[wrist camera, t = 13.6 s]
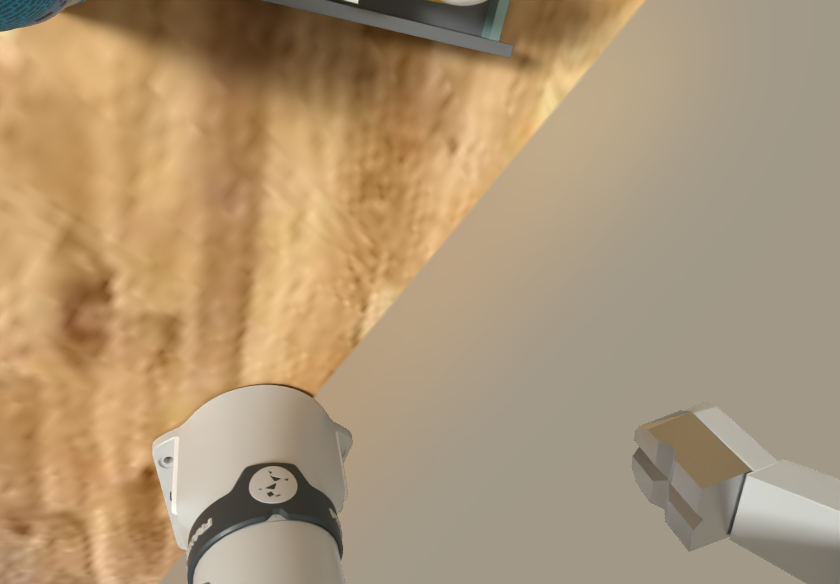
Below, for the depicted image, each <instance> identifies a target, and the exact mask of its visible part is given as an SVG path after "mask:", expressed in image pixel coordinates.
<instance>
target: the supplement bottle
mask: <svg viewBox="0 0 840 584" xmlns="http://www.w3.org/2000/svg"><path fill="white" fill-rule="evenodd" d="M428 1H433V2H439V3H445V4H451V5H457V6H469V5H475V4H479V3H483V2H485V1H487V0H428Z"/></svg>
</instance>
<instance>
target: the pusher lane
mask: <svg viewBox="0 0 840 584" xmlns="http://www.w3.org/2000/svg"><path fill="white" fill-rule="evenodd" d="M263 1H267V2H271V3H276V4H280V5H284V6H289V7H293V8H297V9H301V10H306V11H310V12H314V13H319V14H323V15H327V16H332V17H336V18H340V19H344V20H349V21H353V22H357V23H362V24H366V25H370V26H374V27H379V28H383V29H387V30H392V31H396V32H400V33H405V34H409V35H413V36H417V37H422V38H426V39H430V40H435V41H439V42H443V43H447V44H452V45H456V46H460V47H465V48H469V49H473V50H478V51H482V52H486V53H490V54H495V55H499V56H503V57H508V58H511V54H512V50H513V47H514V46H512V45H509V44H506V43H503V42H500V41H499V39H500V35H501V32H502V28H503V24H504V20H505V17H506V13H507V9H508V6H509V2H510V0H487V1H485V2H483V3H479V4H475V5H469V6H457V5H451V4H445V3H439V2H433V1H428V0H358V4H357V3H353V2H349V1H345V0H263Z"/></svg>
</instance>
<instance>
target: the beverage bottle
mask: <svg viewBox="0 0 840 584" xmlns="http://www.w3.org/2000/svg"><path fill="white" fill-rule="evenodd" d="M84 1H86V0H0V32H2V31H8V30H12V29H16V28H22V27H27V26H32V25H35V24H38V23H41V22H44V21H46V20H48V19H50V18H52V17H54V16H55V15H57V14H58V13H60V12H61V11H62V10H63V9H65V8H66V7H70V6H73V5H77V4H79V3H82V2H84Z"/></svg>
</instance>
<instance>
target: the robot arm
mask: <svg viewBox="0 0 840 584" xmlns="http://www.w3.org/2000/svg"><path fill="white" fill-rule="evenodd" d="M634 441H635V442H636V443H637V444H638V446H639V448H638V449H637V451H636V452H635V453H634V454H633V457H632V470H633V473H634V476H635V479H636V482H637V484H638V485H639V487H640V489H641V491H642V492H643V493H644V495H645V496H646V498H647V499H648V500H649V502H650V503H652V504H654V505H657V506H659V507H661V508H663V509H665V522H666V523H667V525H668V526H669V527H670V528H671V529H672V531H673V532H674V533H675V535H676V536H677V537H678V538H679V540H680V541H681V542H682V543H683V545H684V546H685V547H686V548H687V550H688V551H692V550H695V549H698V548H700V547H703V546H706V545H708V544H711V543H713V542H716V541H719V540H722V539H724V538H727V537H730V540H732V541H733V542H735V543H737V544H738V545H740V546H742V547H744V548H746V549H747V550H749V551H751V552H752V553H754V554H756V555H758V556H759V557H761V558H763V559H765V560H766V561H768V562H770V563H772V564H773V565H775V566H777V567H779V568H780V569H782V570H784V571H786V572H787V573H789V574H791V575H793V576H794V577H796V578H798V579H800V580H802V581H803V582H805V583H807V584H840V479H837V478H834V477H831V476H829V475H826V474H824V473H821V472H818V471H816V470H813V469H810V468H807V467H805V466H802V465H799V464H796V463H794V462H791V461H788V460H786V459H784V460H781V461H777V460H776V459H775V458H774V457H773V456H771V455H770V454H769V453H768V452H767V451H766V450H765V449H764V448H763V447H761V446H760V445H759V444H758V443H757V442H756V441H755V440H754V439H752V438H751V437H750V436H749V435H748V434H747V433H746V432H745V431H744V430H743V429H741V428H740V427H739V426H738V425H737V424H736V423H735V422H734V421H732V420H731V419H730V418H729V417H728V416H727V415H726V414H725V413H724V412H723V411H721V410H720V409H719V408H718V407H717V406H715V405H714V404H712V403H710V402H705V403H702V404H699V405H697V406H694V407H691V408H689V409H686V410H683V411H682V410H681V411H678V412H675V413H673V414H670V415H668V416H665V417H662V418H660V419H657V420H655V421H652V422H649V423H646V424H644V425H641V426H639V427H638V428H637V429H636V431H635V437H634ZM351 446H352V435H351V433H350V432H349V431H348V430H347V429H346V428H344V427H342V426H340V425H339V424H337V423H335V422H333V421H332V420H331V419H330V418H329V416H328V415H327V413H326V412H325V410H324V409H323V407H322V406H321V405H320V404H319V403H318V402H317V401H316V400H314V399H313V398H312V397H310V396H309V395H307V394H305V393H303V392H301V391H298V390H295V389H292V388H289V387H284V386H277V385H255V386H248V387H243V388H239V389H235V390H232V391H229V392H226V393H224V394H222V395H219V396H217V397H215V398H213V399H212V400H210V401H209V402H207V403H206V404H204V405H203V406H202V407H200V408H199V409H198V410H197V411H196V412H195V413H194V414H193V415H192V416H191V417H190V418H189V419H188V420H187V421H186V422H185V423H184V424H183V425H181V426H180V427H178V428H176V429H174V430H171V431H169V432H167V433H165V434H163V435H162V436H160V437H158V438H157V439H156V440H155V441H154V442H153V444H152V454H153V458H154V462H155V466H156V469H157V473H158V476H159V480H160V484H161V487H162V491H163V495H164V498H165V502H166V505H167V509H168V513H169V516H170V520H171V524H172V527H173V531H174V534H175V538H176V541H177V544H178V546H179V547H180V548H181V549H184V550H187V554H186V570H187V575H188V584H345V579H344V575H343V570H342V565H341V559H342V554H343V546H342V531H341V526H340V522H339V520H338V517H337V514H338V512H341V510H342V507H343V502H344V500H346V499H347V495H348V491H347V484H346V478H345V473H344V466H343V463H344V461H345V458H346V456H347V454H348V452H349V450H350V448H351ZM166 457H171V458H166Z"/></svg>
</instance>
